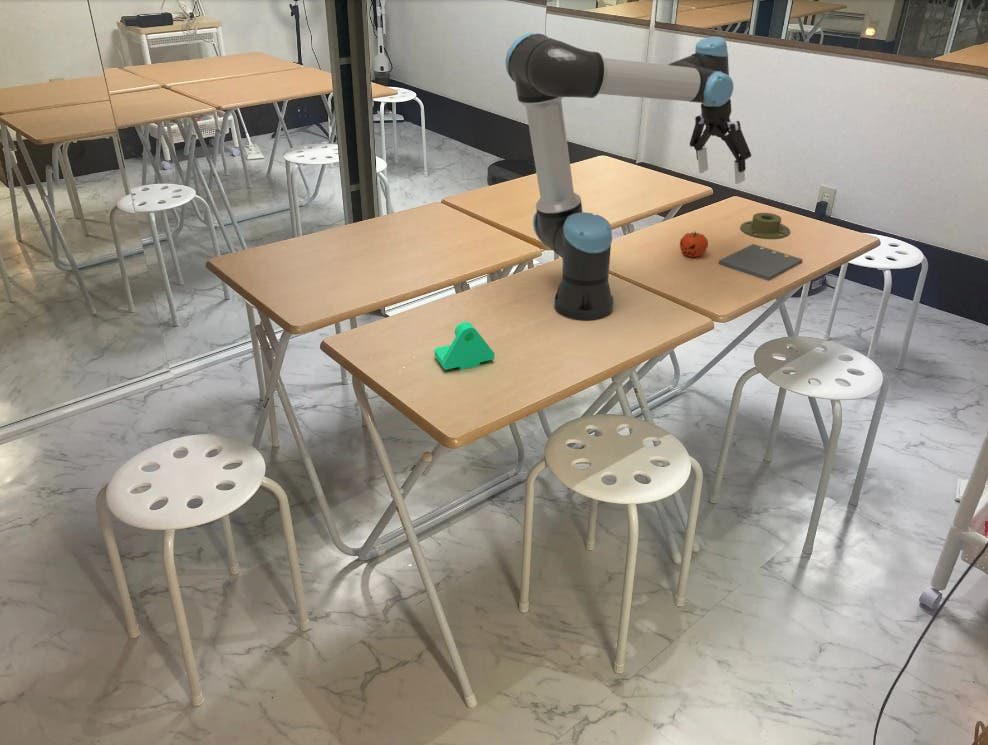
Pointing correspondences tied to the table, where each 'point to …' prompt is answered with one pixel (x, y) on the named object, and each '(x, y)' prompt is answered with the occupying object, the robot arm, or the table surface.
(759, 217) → the flange
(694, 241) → the pumpkin
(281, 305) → the table surface
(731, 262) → the mat
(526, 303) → the table surface
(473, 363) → the camera mount
